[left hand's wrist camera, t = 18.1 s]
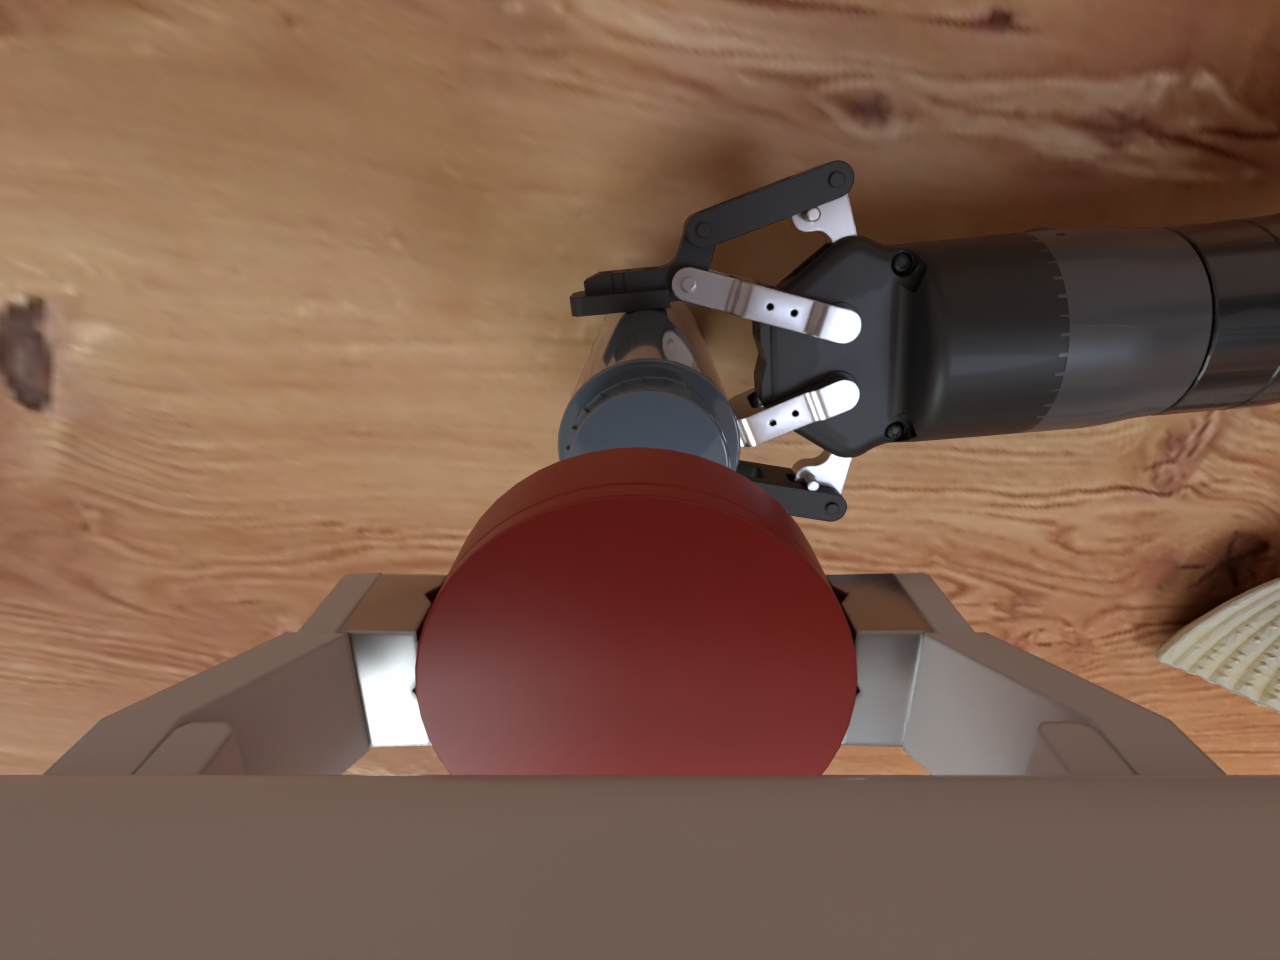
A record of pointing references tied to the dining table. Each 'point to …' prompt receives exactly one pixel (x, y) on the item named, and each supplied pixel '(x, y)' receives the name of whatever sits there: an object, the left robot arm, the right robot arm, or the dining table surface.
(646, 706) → the lid
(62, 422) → the dining table surface
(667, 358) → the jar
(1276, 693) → the seashell
